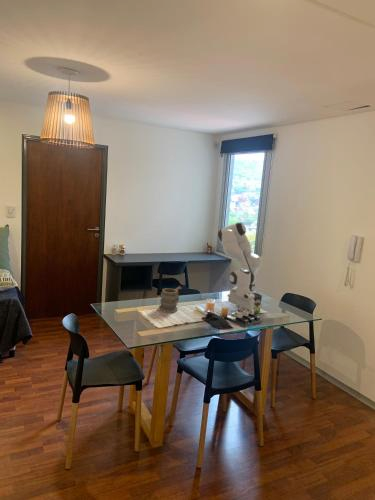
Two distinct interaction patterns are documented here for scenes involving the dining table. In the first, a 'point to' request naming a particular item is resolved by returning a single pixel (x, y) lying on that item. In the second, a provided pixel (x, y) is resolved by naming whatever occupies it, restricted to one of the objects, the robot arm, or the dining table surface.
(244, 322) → the breaker panel
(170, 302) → the tankard
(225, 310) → the lockout cap
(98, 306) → the dining table surface
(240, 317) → the toggle left
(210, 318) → the dark slate chunk
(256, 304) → the coffee can
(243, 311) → the toggle tagged
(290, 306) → the dining table surface
